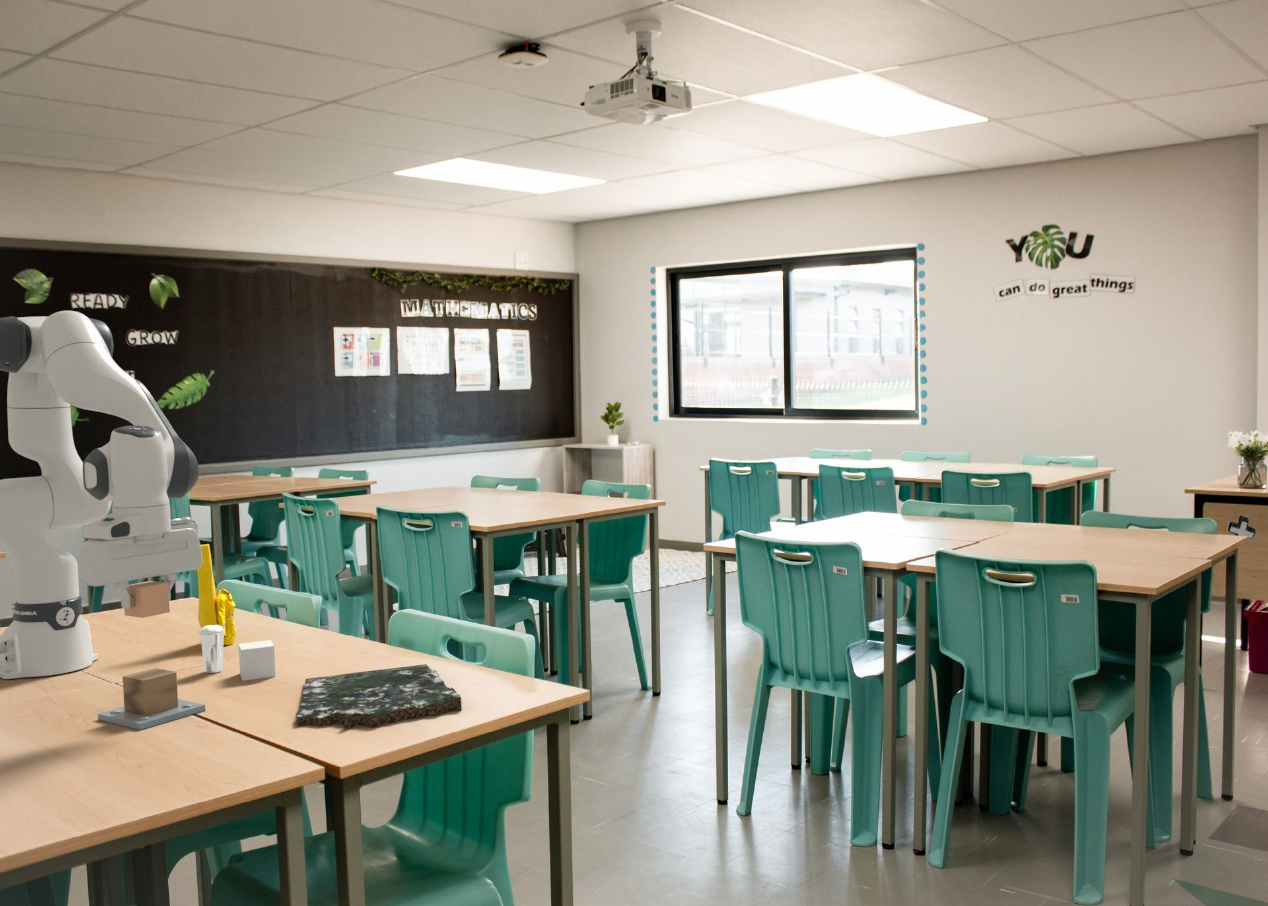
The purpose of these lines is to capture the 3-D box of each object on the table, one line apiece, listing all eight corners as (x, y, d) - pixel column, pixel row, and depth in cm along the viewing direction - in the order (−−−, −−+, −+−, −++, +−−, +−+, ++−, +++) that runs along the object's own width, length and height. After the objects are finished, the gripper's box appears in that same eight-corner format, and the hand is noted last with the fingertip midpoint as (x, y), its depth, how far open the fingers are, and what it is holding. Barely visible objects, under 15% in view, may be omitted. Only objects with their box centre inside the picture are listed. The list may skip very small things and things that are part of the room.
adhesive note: (239, 674, 208) (238, 643, 207) (272, 670, 210) (270, 639, 210) (242, 681, 202) (240, 649, 202) (275, 677, 205) (274, 645, 204)
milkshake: (221, 674, 207) (218, 623, 207) (196, 674, 208) (193, 623, 208) (234, 668, 212) (232, 618, 211) (210, 668, 213) (207, 618, 212)
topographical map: (426, 672, 207) (425, 657, 206) (465, 717, 176) (464, 700, 176) (286, 689, 197) (285, 673, 197) (301, 740, 167) (300, 721, 166)
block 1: (124, 615, 179) (123, 585, 179) (152, 609, 184) (150, 580, 183) (142, 617, 177) (140, 587, 176) (169, 612, 181) (168, 582, 181)
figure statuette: (235, 650, 227) (229, 548, 226) (195, 654, 225) (190, 550, 224) (240, 633, 244) (235, 538, 243) (203, 636, 242) (198, 540, 241)
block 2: (124, 711, 180) (122, 676, 180) (157, 702, 185) (155, 668, 185) (145, 716, 177) (143, 680, 177) (178, 706, 182) (176, 672, 182)
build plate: (98, 719, 179) (97, 712, 179) (163, 701, 189) (162, 694, 189) (140, 729, 173) (140, 722, 173) (205, 710, 183) (205, 703, 183)
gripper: (185, 515, 190) (189, 592, 190) (72, 528, 173) (77, 613, 173) (208, 516, 186) (212, 595, 187) (95, 530, 169) (100, 617, 170)
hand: (146, 604), depth 180 cm, fingers closed on block 1, 5 cm apart
